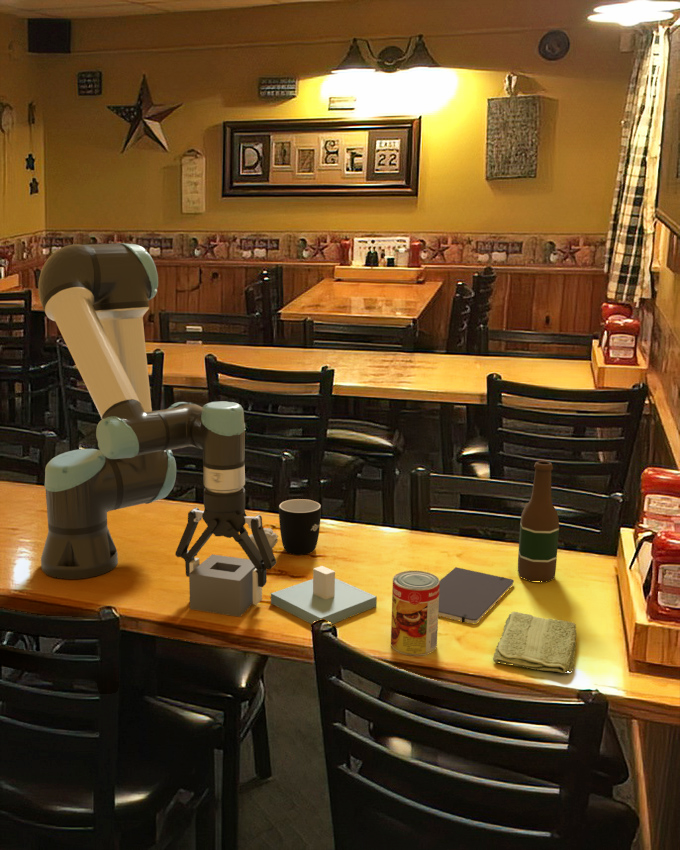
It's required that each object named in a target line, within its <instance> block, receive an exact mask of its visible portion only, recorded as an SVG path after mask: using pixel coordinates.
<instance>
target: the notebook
mask: <svg viewBox="0 0 680 850" xmlns="http://www.w3.org/2000/svg"><path fill="white" fill-rule="evenodd" d="M439 580H440V586H439V609H438V615H439V616H438V617H441V616H443V617H442V618H445V617H447V619H449V618H451V619H450V620H453V619H454V621H457V620H460V621H459V622H461V621H462V622H461V623H463V622H468V623H467V624H469V623H477V622H478V621H479V620H480V619H481V618H482V616H484V615H485V613H486V612H487V611H488V610H489V609H490V608H491V607H492V606H493V605H494V604H495V603H496V602H497V601H498V600H499V599H500V598H501V596H502V595H503V594H504V593H505V592H506V591H507V590H508V589H509V588H510V587H511V586H512V585H514V581H515V580H514V579H512V578H508V577H507V578H506V577H504V576H498V575H493V574H489V573H484V572H479V571H475V570H472V569H471V570H470V569H466V568H463V567H453V569H452V570H450V571H449V572H448V573H447V574H446V575H445V576H444V577H442V578H441V579H439ZM512 587H513V586H512ZM501 599H502V598H501ZM501 599H500V600H501ZM500 600H499V601H500ZM499 601H498V602H499ZM498 602H497V603H498ZM497 603H496V604H497ZM496 604H495V605H496ZM495 605H494V606H495ZM494 606H493V607H494ZM493 607H492V608H493ZM492 608H491V609H492ZM491 609H490V610H491ZM490 610H489V611H490ZM485 616H486V615H485ZM485 616H484V617H485ZM482 619H483V618H482ZM482 619H481V620H482ZM481 620H480V621H481ZM480 621H479V622H480ZM479 622H478V623H479ZM478 623H477V624H478Z"/></svg>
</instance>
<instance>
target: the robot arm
mask: <svg viewBox="0 0 680 850" xmlns="http://www.w3.org/2000/svg"><path fill="white" fill-rule="evenodd" d="M158 287H159V274H158V271H157V266H156V263H155V261H154V259H153V258H152V256H151V254H150V253H149V252H148V251H147V249H146V248H145V247H143V246H141V245H139V244H135V243H124V242H123V243H122V242H121V243H120V242H118V243H94V244H91V243H90V244H81V243H80V244H77V243H76V244H74V243H73V244H69V245H66V246H62V247H60V248H59V249H57V250H55V251H54V252H53V253H52V254H50V255H49V256H48V258H47V260H46V261H45V263H43V266H42V267H41V270H40V274H39V278H38V296H39V301H40V304H41V306H42V309H43V310H44V313H45V315H46V317H47V318H48V319H49V320H51V321H53V322H55V323H56V324H55V325H56V326H57V328H58V330H59V332H60V334H61V337H62V339H63V340H64V342H65V345H66V347H67V349H68V351H69V353H70V355H71V357H72V359H73V361H74V364H75V365H76V367H77V370H78V372H79V374H80V376H81V378H82V380H83V383H84V384H85V387H86V388H87V390H88V392H89V396H90V397H91V400H92V402H93V403H94V405H95V407H96V409H97V412H98V414H99V416H100V419H101V420H100V421H99V422H98V424H97V425H96V430H95V431H96V432H95V435H96V440H97V447H98V449H96V448H85V449H73V450H69V451H65V452H63V453H60V454H58V455H56V456H54V457H53V458H51V459H50V460H49V461H48V462H47V463H46V465H45V470H44V472H45V473H44V474H45V475H44V488H45V500H46V503H45V504H46V514H47V528H48V529H47V531H48V532H47V536H46V539H45V543H44V546H43V550H42V553H41V557H40V564H41V565H40V566H41V570H42V572H43V574H45V575H47V576H49V575H50V576H49V577H52V576H53V577H52V578H56V577H57V578H56V579H62V578H64V580H66V579H67V580H76V579H77V580H80V579H86V578H87V579H88V578H92V577H93V578H94V577H97V576H100V575H104V574H106V573H108V572H111V571H112V570H114V569H115V568H116V567H117V566H118V564H119V560H118V559H119V557H118V549H117V546H116V545H115V542H114V540H113V538H112V534H111V532H110V529H109V527H108V526H109V525H108V513H109V512H111V511H117V510H120V509H124V508H129V507H134V506H135V507H136V506H139V505H144V504H146V505H147V504H152V503H153V502H155V501H159V500H162V499H165V498H166V497H168V496H169V494H170V493H171V491H172V490H173V488H174V486H175V483H176V478H177V463H176V460H175V457H174V456H173V455H174V454H173V451H172V450H177V449H183V448H187V447H188V448H189V447H192V448H195V449H198V450H201V451H202V465H203V468H202V471H203V478H202V479H203V486H204V487H205V488H203V509H204V510H200V509H199V507H194V508H193V509H191V510H189V511H188V512H187V523H186V526H185V528H184V531H183V533H182V536H181V538H180V541H179V544H178V546H177V548H176V551H175V556H176V557H177V558H181V559H183V560H184V562H185V563H184V564H185V567H184V568H185V576H186V577H188V578H189V573H191V572H192V571H193V570H194V569H195V568H197V567H198V566H199V565H200V564H201V563H200V558H199V557H196V556H197V555H198V553H200V551H201V549H202V548H203V547H204V546H205V544H206V543H207V542H208V540H209V539H210V538H211V537H212V536H213V535H214V537H225V538H226V539H227V538H228V539H229V538H230V539H232V538H233V539H234V541H235V542H236V543H238V544H239V546H240V547H241V549H242V550H243V552H244V553H245V555H246V557H248V559H250V560H251V562H252V563H253V565H254V566H255V568H256V569H255V570H254V571H253V604H252V605H256V606H257V605H259V603H261V601H262V600H263V587H264V586H265V585H266V584H267V581H268V580H267V574H268V573H267V570H271V569H273V567H275V566H276V564H277V559H276V557H275V554H274V552H273V548H272V549H271V547H270V544H269V542H268V539H267V537H266V534H265V532H264V529H263V528H264V527H263V517H262V516H261V514H257V515H255V516H249V515H248V516H247V514H246V489H245V485H246V473H245V472H246V471H245V468H246V467H245V466H246V465H245V456H246V455H245V452H246V451H245V450H246V449H245V446H246V445H245V444H246V443H245V441H246V439H245V437H246V436H245V435H246V432H245V431H246V430H245V429H246V423H245V413H244V408H243V407H242V405H241V404H239V403H237V402H235V401H234V402H233V401H225V400H224V401H223V400H222V401H211V402H208V403H206V404H204V405H203V406H200V405H198V404H196V403H193V402H186V401H178V402H175V403H173V404H171V405H170V406H169V407H168V408H165V409H160V410H159V409H158V410H153V408H152V400H151V390H150V389H151V387H150V379H149V369H148V358H147V347H146V340H145V339H146V338H145V329H144V327H145V326H144V316H145V314H146V313H147V312H148V310H150V305H149V304H150V303H149V301H150V300H152V299H153V298H155V296H156V295H157V293H158ZM201 520H203V521H204V523H205V524H206V526H207V527H206V528H205V529H204V530H203V531H202V533H201V535H200V536H199V537H198V539H197V540H196V541H195V543H193V545H192V547H190V549H189V546H190V544H191V543H192V539H193V538H194V537H193V536H194V534H195V532H196V530H197V526H198V525H199V522H201ZM246 524H247V525H248V528H249V529H251V530H250V531H251V534H253V537H254V539H255V542H256V544H257V547H258V549H259V550H258V549H257V547H256V546H255V544H254V543H253V541H252V540H251V538H250V537H249V536H250V535H249V532H248V530H247V529H246V527H245V525H246ZM65 578H66V579H65Z"/></svg>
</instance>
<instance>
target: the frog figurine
mask: <svg viewBox="0 0 680 850" xmlns="http://www.w3.org/2000/svg"><path fill="white" fill-rule="evenodd" d="M263 529H264V532H265V534H266V537H267V539H268V542H269V544H270V547H271V549H272V550H273V548H274V547H275V546H276V545H277V544H278V541H279V539H278V537H279V535H278V534H277V533H276V532H274V530H273V529H272V528H270V527H268V528H266V527H263ZM248 536H249V537H250V538H251V540H252V541H253V543H254V544H255V546H256V547H257V544H256V542H255V539H254V537H253V534H252V533H251V534H249V535H248ZM257 549H258V547H257ZM258 550H259V549H258Z"/></svg>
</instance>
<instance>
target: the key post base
mask: <svg viewBox="0 0 680 850" xmlns="http://www.w3.org/2000/svg"><path fill="white" fill-rule="evenodd" d="M377 599H378V598H377V595H374V594H371V593H370V592H367V591H365V590H363V589H360V588H358V587H356V586H354V585H351V584H349V583H347V582H345V581H342V580H341V579H339V578H336V571H335V570H333V569H330V568H328V567H326V566H323V565H320V566H317V567H314V568H313V569H312V579H309V580H305V581H303V582H299V583H297V584H294V585H292V586H288V587H286V588H283V589H279V590H277V591H274V592H271V593H270V604H271V605H274V606H276V607H277V608H279V609H281V610H283V611H285V612H287V613H289V614H291V615H294V616H295V617H296V618H298V619H301V620H303V621H304V622H307V623H308V624H311V625H312V623H313V622H314V621H317V620H320V619H325V620H327V621H329V622H331V623H333V624H332V625H334V624H336V623H339V622H341V621H344V620H346V619H348V617H349V618H351V617H353V615H354V616H356V615H358V613H359V614H361V613H364V612H367V611H369V610H371V609H374V608H376V607H377V604H378V603H377V602H378V600H377ZM373 607H374V608H373ZM350 616H351V617H350ZM343 619H344V620H343Z"/></svg>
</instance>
